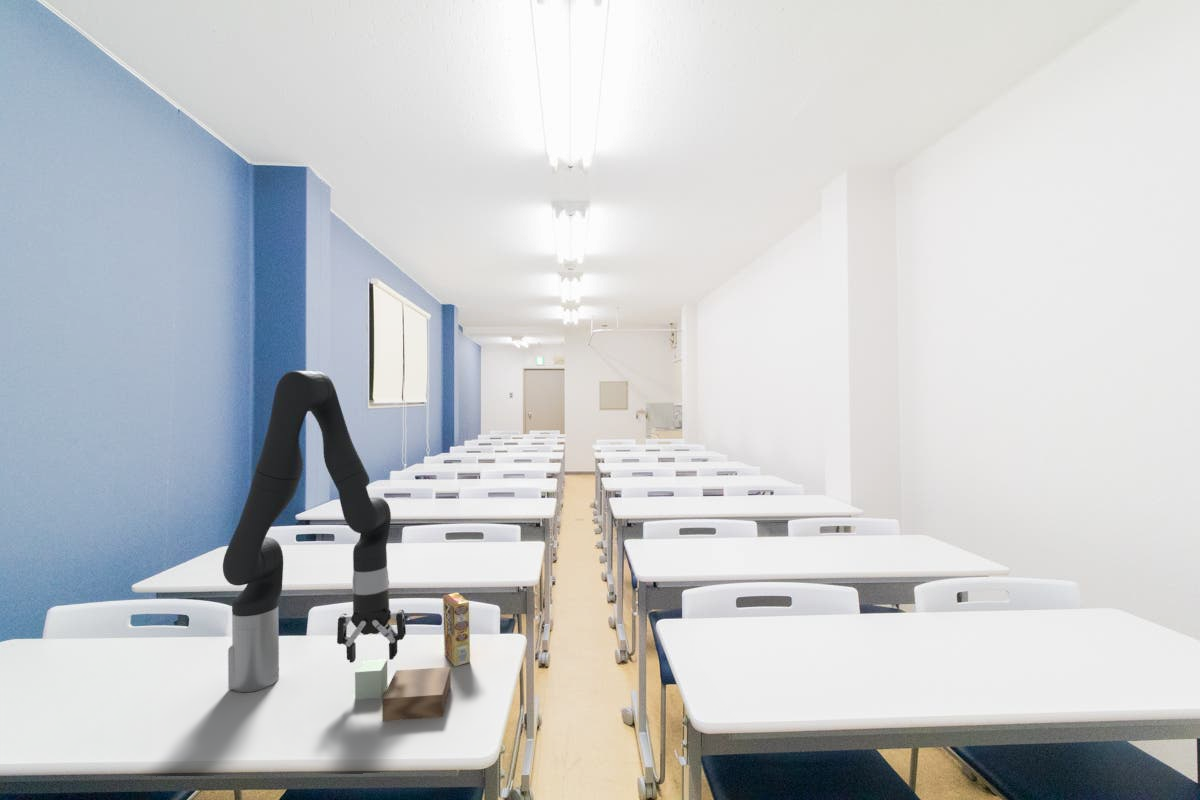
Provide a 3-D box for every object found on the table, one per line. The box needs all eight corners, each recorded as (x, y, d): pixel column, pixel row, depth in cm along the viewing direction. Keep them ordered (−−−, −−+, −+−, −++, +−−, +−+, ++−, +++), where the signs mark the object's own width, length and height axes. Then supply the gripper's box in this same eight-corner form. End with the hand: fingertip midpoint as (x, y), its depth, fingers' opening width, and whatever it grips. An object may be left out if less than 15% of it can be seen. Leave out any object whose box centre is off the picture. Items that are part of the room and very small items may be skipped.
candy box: (470, 662, 140) (470, 601, 140) (454, 667, 137) (453, 605, 137) (458, 649, 147) (458, 591, 147) (442, 654, 145) (442, 594, 145)
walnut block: (382, 723, 115) (382, 698, 115) (396, 692, 126) (396, 670, 126) (442, 718, 116) (442, 694, 116) (450, 688, 128) (450, 667, 128)
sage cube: (355, 699, 123) (355, 672, 123) (362, 686, 129) (362, 660, 129) (381, 697, 124) (381, 670, 124) (387, 685, 129) (387, 659, 129)
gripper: (331, 595, 121) (333, 670, 121) (399, 591, 123) (401, 664, 123) (343, 584, 129) (345, 654, 129) (407, 580, 131) (408, 649, 131)
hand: (372, 659), depth 126 cm, fingers open, 8 cm apart
